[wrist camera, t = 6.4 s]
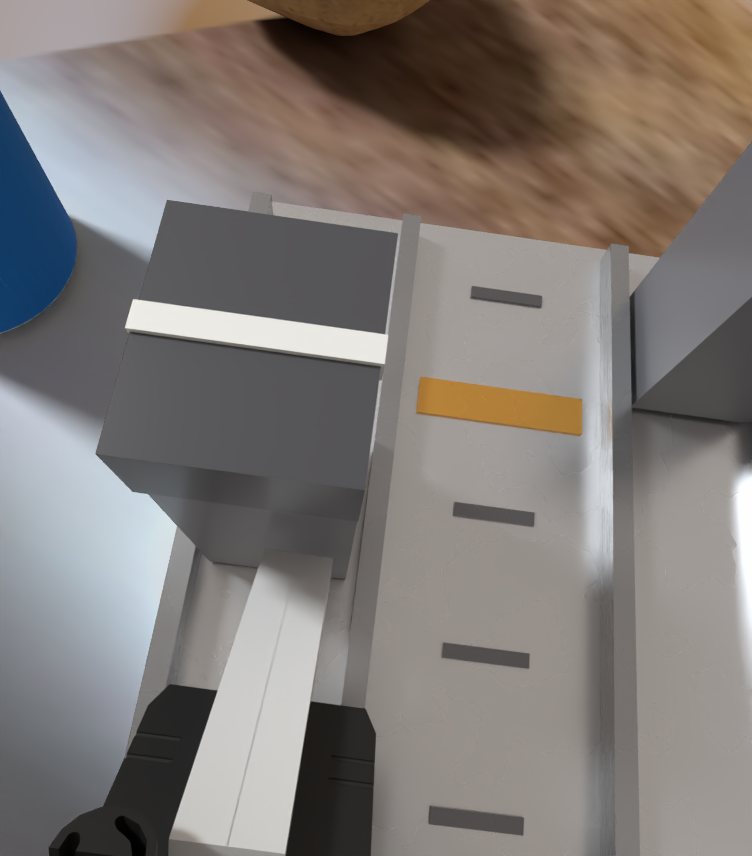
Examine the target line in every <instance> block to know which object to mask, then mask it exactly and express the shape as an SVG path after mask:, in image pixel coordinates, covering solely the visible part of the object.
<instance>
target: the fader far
mask: <svg viewBox="0 0 752 856" xmlns="http://www.w3.org/2000/svg"><path fill="white" fill-rule="evenodd" d="M630 349H631V402H632V408H639V409H647V410H654V411H661V412H668V413H675V414H683V415H690V416H697V417H704V418H711V419H719V420H726V421H733V422H740V423H749V422H751V421H752V142H751V143H750V144H749V146H748V147H747V148H746V150H745V151H744V152H743V153H742V155H741V156H740V157H739V158H738V160H737V161H736V162H735V164H734V165H733V166H732V167H731V169H730V170H729V171H728V172H727V174H726V175H725V176H724V177H723V179H722V180H721V181H720V183H719V184H718V185H717V186H716V188H715V189H714V190H713V191H712V193H711V194H710V195H709V197H708V198H707V199H706V200H705V202H704V203H703V204H702V205H701V207H700V208H699V209H698V210H697V212H696V213H695V214H694V216H693V217H692V218H691V219H690V221H689V222H688V223H687V224H686V226H685V227H684V228H683V230H682V231H681V232H680V233H679V235H678V236H677V237H676V238H675V240H674V241H673V242H672V244H671V245H670V246H669V247H668V249H667V250H666V251H665V252H664V254H663V255H662V256H661V257H660V259H659V260H658V261H657V263H656V264H655V265H654V266H653V268H652V269H651V270H650V271H649V273H648V274H647V275H646V277H645V278H644V279H643V280H642V282H641V283H640V284H639V285H638V287H637V288H636V289H635V290H634V292H633V293H632V294H631V296H630Z"/></svg>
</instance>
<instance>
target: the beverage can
mask: <svg viewBox="0 0 752 856" xmlns="http://www.w3.org/2000/svg"><path fill="white" fill-rule="evenodd" d="M76 256H77V240H76V234H75V230H74V227H73V224H72V222H71V220H70V218H69V216H68V215H67V213H66V211H65V209H64V207H63V205H62V204H61V202H60V200H59V198H58V196H57V194H56V192H55V191H54V189H53V187H52V185H51V183H50V181H49V180H48V178H47V176H46V174H45V172H44V170H43V169H42V167H41V165H40V163H39V161H38V159H37V158H36V156H35V154H34V152H33V150H32V148H31V147H30V145H29V143H28V141H27V139H26V137H25V135H24V134H23V132H22V130H21V128H20V126H19V124H18V123H17V121H16V119H15V117H14V115H13V113H12V112H11V110H10V108H9V106H8V104H7V102H6V101H5V99H4V97H3V95H2V93H1V91H0V334H1V333H4V332H7V331H10V330H12V329H14V328H17V327H19V326H21V325H23V324H25V323H27V322H28V321H30V320H32V319H33V318H35V317H36V316H38V315H39V314H40V313H42V312H43V311H44V310H45V309H46V308H48V307H49V306H50V305H51V304H52V303H53V302H54V301H55V300H56V298H57V297H58V296H59V295H60V294H61V292H62V291H63V289H64V288H65V286H66V285H67V283H68V281H69V279H70V277H71V275H72V272H73V269H74V266H75V262H76Z"/></svg>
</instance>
